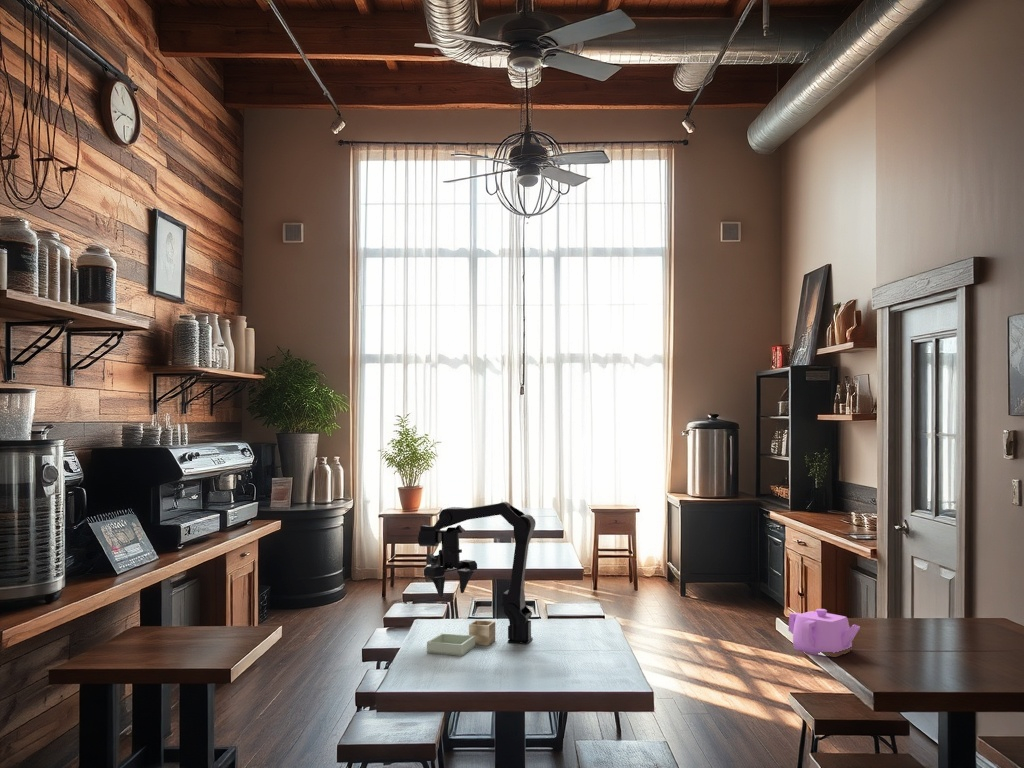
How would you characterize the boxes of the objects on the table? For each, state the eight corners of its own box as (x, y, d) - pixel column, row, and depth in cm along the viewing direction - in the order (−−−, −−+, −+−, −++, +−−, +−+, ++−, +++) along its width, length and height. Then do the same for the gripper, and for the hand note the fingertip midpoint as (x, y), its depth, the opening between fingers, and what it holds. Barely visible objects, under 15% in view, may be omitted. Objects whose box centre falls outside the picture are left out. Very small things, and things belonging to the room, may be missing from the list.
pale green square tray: (475, 646, 252) (475, 635, 252) (461, 656, 241) (461, 645, 242) (441, 643, 255) (441, 633, 256) (426, 652, 245) (427, 642, 245)
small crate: (495, 640, 259) (495, 621, 259) (488, 645, 253) (488, 626, 253) (476, 639, 261) (476, 619, 261) (468, 644, 255) (468, 624, 255)
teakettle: (785, 643, 255) (785, 603, 256) (841, 643, 254) (840, 603, 255) (803, 658, 238) (802, 615, 239) (862, 659, 237) (861, 616, 238)
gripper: (455, 541, 278) (456, 588, 277) (412, 548, 265) (413, 596, 264) (477, 544, 270) (478, 591, 269) (434, 550, 257) (435, 601, 256)
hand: (451, 595), depth 265 cm, fingers open, 9 cm apart
